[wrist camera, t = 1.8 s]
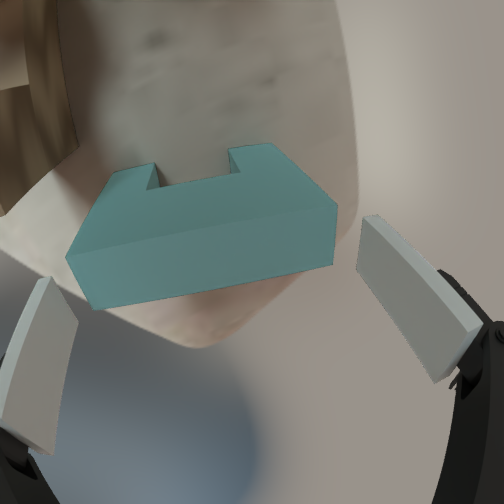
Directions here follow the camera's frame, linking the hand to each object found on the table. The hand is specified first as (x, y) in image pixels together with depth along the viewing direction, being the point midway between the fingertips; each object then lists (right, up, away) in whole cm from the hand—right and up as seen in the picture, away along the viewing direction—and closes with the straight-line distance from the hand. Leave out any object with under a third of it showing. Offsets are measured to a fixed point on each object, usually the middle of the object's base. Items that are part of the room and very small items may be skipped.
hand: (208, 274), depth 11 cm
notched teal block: (-2, +6, +8) cm, 10 cm away
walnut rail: (-12, +14, 0) cm, 18 cm away
